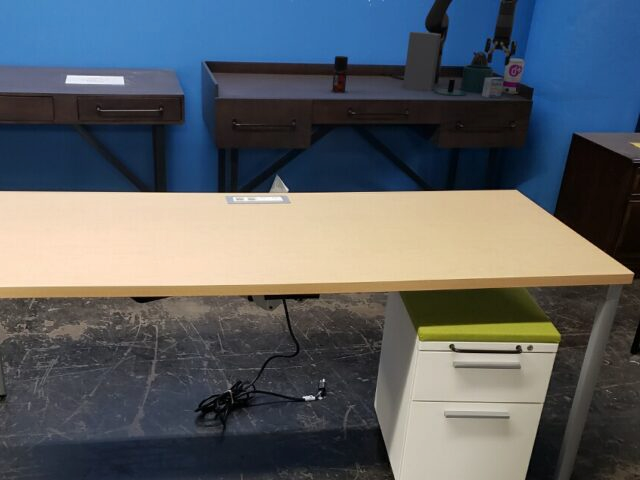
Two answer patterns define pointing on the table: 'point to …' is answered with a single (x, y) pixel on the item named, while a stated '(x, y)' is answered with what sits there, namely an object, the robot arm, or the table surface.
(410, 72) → the cassette tape recorder
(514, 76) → the supplement can
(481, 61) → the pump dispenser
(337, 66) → the deodorant
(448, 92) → the tin lid
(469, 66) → the tin
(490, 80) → the medicine box
